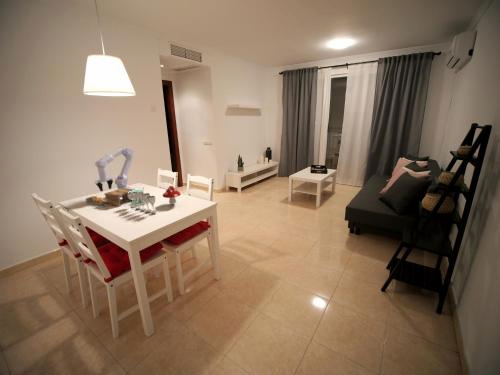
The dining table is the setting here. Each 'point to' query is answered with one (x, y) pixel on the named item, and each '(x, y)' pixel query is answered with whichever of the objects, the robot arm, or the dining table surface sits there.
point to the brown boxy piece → (117, 196)
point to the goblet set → (141, 196)
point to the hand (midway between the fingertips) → (106, 189)
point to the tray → (96, 201)
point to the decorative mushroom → (171, 194)
